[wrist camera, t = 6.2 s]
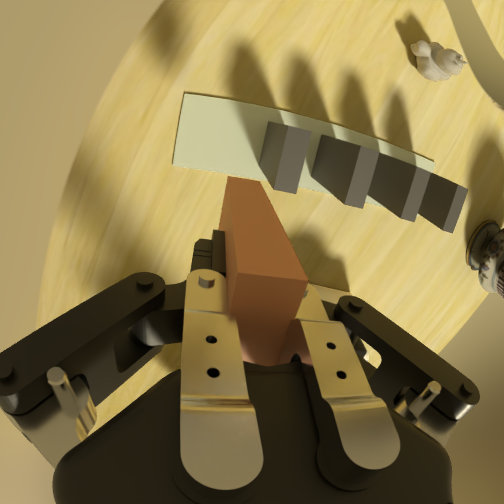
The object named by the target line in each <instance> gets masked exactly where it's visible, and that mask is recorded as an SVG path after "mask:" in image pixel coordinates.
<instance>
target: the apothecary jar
mask: <svg viewBox="0 0 504 504" xmlns="http://www.w3.org/2000/svg"><path fill="white" fill-rule="evenodd" d="M466 262H467V265H469V266H471V269H472V270H479V281H480V284H481V286H482V288H483V289H484V290H485V291H487V292H490V293H496V292H498V293H499V294H500V295H501V296H502V297H503V298H504V228H503V229H501V230H500V229H499V226H498V224H497V223H496V222H495V221H493V220H488V221H485V222H484V223H482V224H481V225H480V226H479V227H478V228H477V229H476V231H475V232H474V234H473V236H472V237H471V240H470V242H469V245H468V248H467V252H466Z"/></svg>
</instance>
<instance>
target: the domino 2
mask: <svg viewBox="0 0 504 504" xmlns="http://www.w3.org/2000/svg"><path fill="white" fill-rule="evenodd" d="M218 230H221V231H225V250H226V278H225V279H226V282H227V290H228V302H229V313H235V315H236V320H237V327H238V333H239V340H240V347H241V353H242V360H243V361H246V362H250V363H254V364H258V365H263V366H275V365H277V364H278V361H279V359H280V356H281V354H282V351H283V349H284V346H285V344H286V338H287V329H288V326H289V324H290V321H291V320H295V318H296V315H297V312H298V309H299V307H300V304H301V301H302V298H303V296H304V293H305V290H306V287H307V284H308V281H309V280H308V278H307V276H306V274H305V272H304V270H303V267H302V265H301V263H300V261H299V259H298V257H297V255H296V253H295V251H294V249H293V247H292V245H291V243H290V241H289V238H288V236H287V234H286V232H285V230H284V228H283V226H282V224H281V222H280V220H279V218H278V216H277V214H276V212H275V210H274V208H273V206H272V204H271V202H270V200H269V198H268V196H267V194H266V193H265V191H264V189H263V187H262V185H261V183H260V181H254V180H249V179H243V178H237V177H230V176H228V178H227V184H226V189H225V195H224V200H223V206H222V212H221V218H220V223H219V229H218Z"/></svg>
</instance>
